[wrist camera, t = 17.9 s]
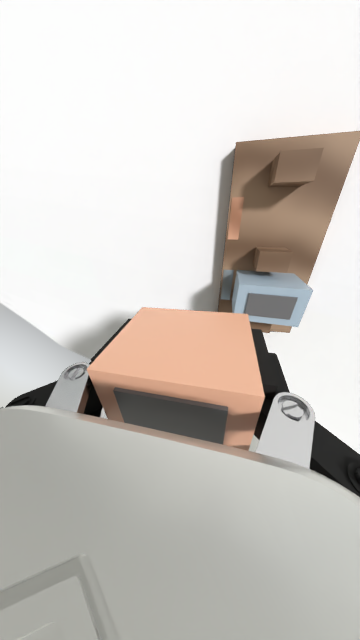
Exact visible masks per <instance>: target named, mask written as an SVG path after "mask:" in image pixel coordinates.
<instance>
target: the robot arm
mask: <svg viewBox="0 0 360 640" xmlns="http://www.w3.org/2000/svg"><path fill="white" fill-rule="evenodd" d="M130 320H131V319H128V320H127V321H126V322H125V323H124V324H123V325H122V327H121V328H120V329H119V330H118V331H117V332H116V333H115V334H114V335H113V336H112V337H111V338H110V339H109V341H108V342H107V343H106V344H105V345H104V346H103V347H102V348H101V349H100V350H99V351H98V352H97V353H96V354H95V356H94V357H93V358H92V359H91V362H90V363H89V364H88V363H85V362H81V363H76V364H73V365H71V366H69V367H68V368H66V370H64V371H63V372H62V374H61V376H60V378H59V379H58V381H55V382H53V383H50V384H48V385H45V386H43V387H40V388H37V389H35V390H33V391H30V392H27V393H25V394H22V395H20V396H18V397H17V398H15V399H14V400H12V401H11V402H10V403H9V404H8V405H7V406H6V407H5V408H3V407H2V408H0V640H360V454H358V453H357V452H356V451H354V450H353V449H352V448H350V447H349V446H348V445H346V444H345V443H344V442H342V441H341V440H340V439H338V438H337V437H336V436H334V435H333V434H332V433H331V432H329V431H328V430H327V429H325V428H324V427H323V426H321V425H320V424H319V423H317V422H316V421H315V413H314V411H313V409H312V407H311V406H310V405H309V403H308V402H307V401H305V400H304V399H303V398H301V397H299V396H298V395H295V394H292V393H290V392H289V389H288V386H287V384H286V381H285V378H284V375H283V372H282V369H281V366H280V363H279V360H278V358H277V355H276V354H275V353H268V350H267V347H266V343H265V340H264V337H263V333H262V330H261V329H251V331H252V336H253V341H254V346H255V351H256V356H257V361H258V366H259V371H260V375H261V380H262V385H263V390H264V395H265V398H264V402H263V405H262V408H261V411H260V415H259V418H258V421H257V425H256V428H255V431H254V434H253V438H252V441H251V444H250V448H249V451H247V450H243V449H239V448H235V447H231V446H226V445H222V444H218V443H213V442H209V441H204V440H200V439H195V438H191V437H187V436H182V435H178V434H173V433H169V432H164V431H160V430H155V429H151V428H146V427H142V426H137V425H132V424H128V423H123V422H119V421H114V420H109V419H104V416H105V411H104V409H103V406H102V404H101V402H100V400H99V397H98V395H97V393H96V390H95V388H94V386H93V383H92V381H91V379H90V376H89V374H88V372H87V368H88V367H89V366H90V365H91V364H92V363H93V361H94V360H95V359H96V358H97V357H98V356H99V355H100V354H101V353H102V351H103V350H104V349H105V348H106V347H107V346H108V345H109V344H110V343H111V342H112V340H113V339H114V338H115V337H116V336H117V335H118V334H119V333H120V332H121V330H122V329H123V328H124V327H125V326H126V325H127V324H128V323H129V322H130Z"/></svg>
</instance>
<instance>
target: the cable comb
mask: <svg viewBox="0 0 360 640" xmlns="http://www.w3.org/2000/svg"><path fill="white" fill-rule="evenodd" d="M359 141H360V131H353V132H342V133H331V134H320V135H309V136H298V137H287V138H277V139H266V140H255V141H244V142H236V147H235V157H234V166H233V175H232V184H231V194H230V203H229V212H228V221H227V231H226V240H225V249H224V258H223V268H222V277H221V286H220V295H219V305H218V312H225V313H232V296H233V290H234V284H235V278H236V272H237V270H247V271H260V272H278V273H293V274H295V275H296V276H298V277H299V278H300V279H301V280H302V281H303V282H304V283H306V284H308V281H309V278H310V275H311V273H312V270H313V267H314V264H315V262H316V259H317V256H318V253H319V251H320V248H321V245H322V242H323V240H324V237H325V234H326V231H327V229H328V226H329V223H330V220H331V218H332V215H333V212H334V210H335V207H336V204H337V201H338V199H339V196H340V193H341V190H342V188H343V185H344V182H345V179H346V177H347V174H348V171H349V168H350V166H351V163H352V160H353V157H354V155H355V152H356V149H357V146H358V144H359ZM249 322H250V327H251V329H261V330H262V332H265V333H269V332H270V331H277V332H286V333H290V330H291V328H292V326H285V325H276V324H268V323H259V322H251V321H249Z"/></svg>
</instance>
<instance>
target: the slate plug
mask: <svg viewBox="0 0 360 640" xmlns="http://www.w3.org/2000/svg"><path fill="white" fill-rule="evenodd" d="M312 292H313V290H312V289H311V288H310V287H309V286H308V285H307V284H306V283H304V282H303V281H302V280H301V279H300V278H299V277H298V276H296V275H295V274H293V273H278V272H260V271H247V270H237V272H236V278H235V284H234V290H233V296H232V313H241V314H248V317H249V321H251V322H259V323H268V324H276V325H285V326H293V327H298V326H299V323H300V321H301V319H302V316H303V314H304V311H305V309H306V306H307V304H308V302H309V299H310V297H311V294H312Z"/></svg>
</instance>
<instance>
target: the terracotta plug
mask: <svg viewBox="0 0 360 640" xmlns="http://www.w3.org/2000/svg"><path fill="white" fill-rule="evenodd" d="M87 372H88V374H89V376H90V379H91V381H92V383H93V386H94V388H95V390H96V393H97V395H98V397H99V400H100V402H101V404H102V406H103V409H104V411H105V413H106V416H107V418H108V419H109V420H114V421H119V422H123V423H128V424H132V425H137V426H142V427H146V428H151V429H155V430H160V431H164V432H169V433H173V434H178V435H182V436H187V437H191V438H195V439H200V440H204V441H209V442H213V443H218V444H222V445H226V446H231V447H235V448H239V449H243V450H247V451H249V448H250V444H251V441H252V438H253V434H254V431H255V428H256V425H257V421H258V418H259V415H260V411H261V408H262V405H263V402H264V398H265V395H264V390H263V385H262V380H261V375H260V371H259V366H258V361H257V356H256V351H255V346H254V341H253V336H252V331H251V327H250V322H249V317H248V314H241V313H225V312H209V311H193V310H178V309H162V308H146V307H142V308H141V309H140V310H139V312H138V313H137V314H136V315H135V316H134V317H133V318H132V319H131V320H130V322H129V323H128V324H127V325H126V326H125V327H124V328H123V329H122V330H121V332H120V333H119V334H118V335H117V336H116V337H115V338H114V339H113V340H112V342H111V343H110V344H109V345H108V346H107V347H106V348H105V349H104V350H103V351H102V353H101V354H100V355H99V356H98V357H97V358H96V359H95V360H94V361H93V363H92V364H91V365H90V366H89V367H88V368H87Z"/></svg>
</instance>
